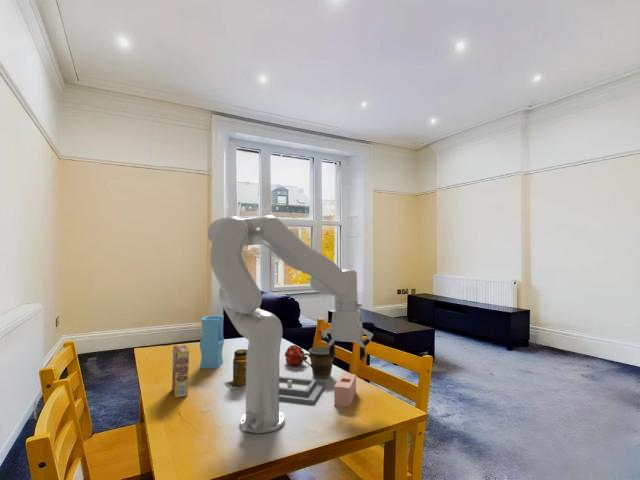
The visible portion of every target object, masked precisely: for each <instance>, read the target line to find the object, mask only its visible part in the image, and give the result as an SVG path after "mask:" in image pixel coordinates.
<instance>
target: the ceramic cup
mask: <svg viewBox="0 0 640 480" xmlns="http://www.w3.org/2000/svg"><path fill="white" fill-rule="evenodd" d="M308 352H309V353H305V352H304V354H303V357H304V356H305V355H306V356H307V357H309V359H310V363H309V362H308V360H304V359H303V357H302V359H303V360H304V361H303V362H305V363H306V364H307V365H308V366H310V368H311V371H312V376H313V378H315V379H320V380H325V379H329V378H330V377H331V375H332V370H333V362H334V359H335V357H334V358H331V355H330V352H329V347H328V346H315V347H311V348H310V349H309V350H308ZM306 356H305V357H306Z"/></svg>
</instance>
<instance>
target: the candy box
mask: <svg viewBox="0 0 640 480" xmlns="http://www.w3.org/2000/svg"><path fill="white" fill-rule="evenodd" d="M172 349H173V350H172V375H171V376H172V380H171V381H172V382H171V383H172V384H171V389H172V392H173V395H174V397H175V399H177V398H183V397H188V391H189V362H190V350H189V348H188V347H187V345H186V344H177V345H173V347H172Z"/></svg>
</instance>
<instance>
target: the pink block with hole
mask: <svg viewBox="0 0 640 480" xmlns="http://www.w3.org/2000/svg"><path fill="white" fill-rule="evenodd" d="M333 387H334V392H333V393H334V397H333V398H334V401H333V402H334V403H333V405H334V406H336V407H345V408H351V405H352V403H353V401H354V399H355V395H356V393H357V375H356V374H354V373H353V374H352V373H342V372H341V374H340V376H339V378H338V379H337V381H336V383H335V385H334V386H333Z"/></svg>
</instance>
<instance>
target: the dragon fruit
mask: <svg viewBox="0 0 640 480" xmlns="http://www.w3.org/2000/svg"><path fill="white" fill-rule="evenodd" d="M302 349H303V348H302V347H301V346H298V345H295V344H294V345H290V346H289V347H288V348H287V349H286V351H285V353H284V357H285V362H286V364H290V365H291V366H292V367H294V368H295V367H298V366H297V365H302V364H303V363H304V362H305V361H308V356H307V355H305V356H304V357H303V355H304V354H305V352H304V350H302ZM302 357H303V359H304V360H305V361H304V360H303V359H302Z"/></svg>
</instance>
